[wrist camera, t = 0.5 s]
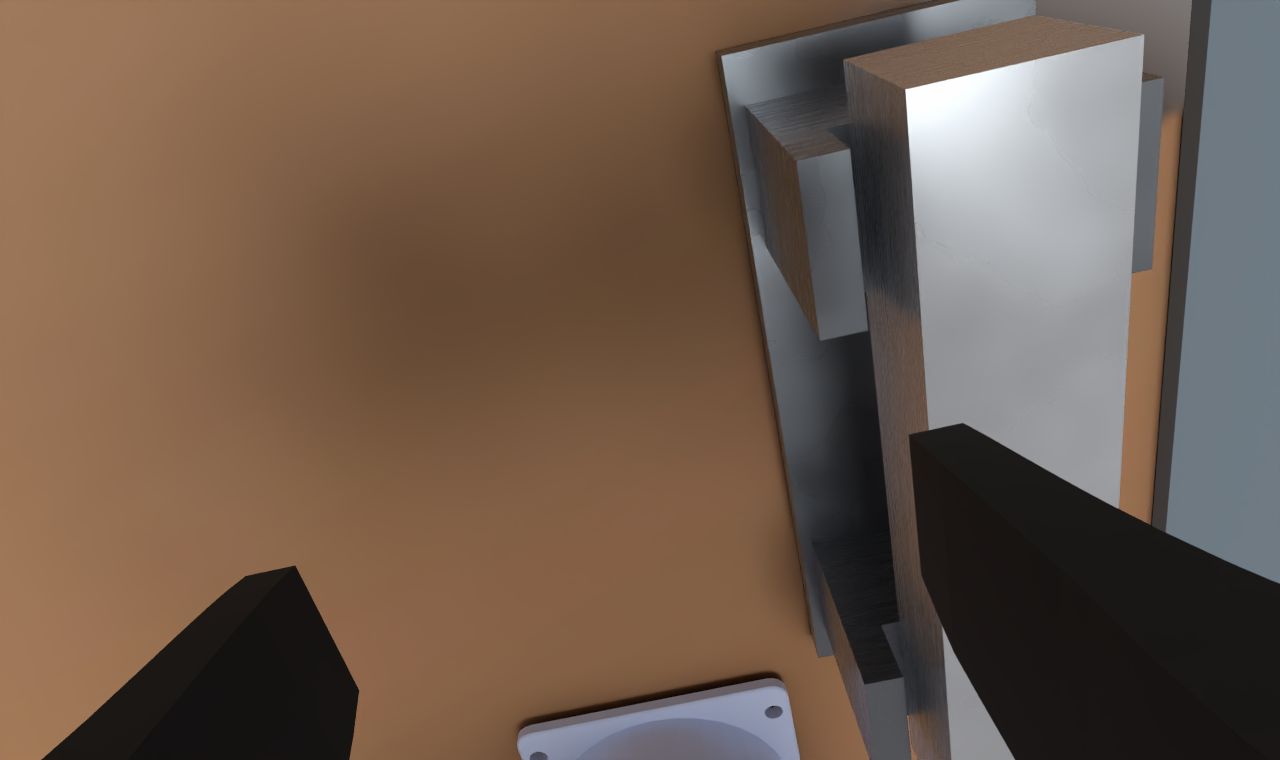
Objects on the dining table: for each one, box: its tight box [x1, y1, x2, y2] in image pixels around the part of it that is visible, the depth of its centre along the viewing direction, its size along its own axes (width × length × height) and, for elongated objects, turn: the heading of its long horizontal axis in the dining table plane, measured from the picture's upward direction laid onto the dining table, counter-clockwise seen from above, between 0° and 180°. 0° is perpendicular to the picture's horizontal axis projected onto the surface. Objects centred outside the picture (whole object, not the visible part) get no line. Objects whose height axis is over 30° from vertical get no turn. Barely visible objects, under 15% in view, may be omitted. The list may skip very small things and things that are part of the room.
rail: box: [843, 15, 1144, 760], centre depth 16 cm, size 16×3×3 cm, turn 12°
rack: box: [716, 0, 1164, 760], centre depth 18 cm, size 16×6×6 cm, turn 12°
